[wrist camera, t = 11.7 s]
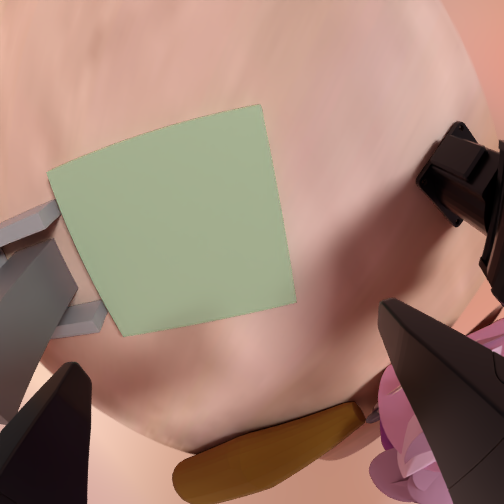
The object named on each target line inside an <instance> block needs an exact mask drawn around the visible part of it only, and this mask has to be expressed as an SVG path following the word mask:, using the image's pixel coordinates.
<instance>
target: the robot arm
mask: <svg viewBox="0 0 504 504" xmlns="http://www.w3.org/2000/svg"><path fill="white" fill-rule="evenodd" d="M459 127H461V128H460V129H459ZM499 149H500V153H499V152H496V151H494V150H491V149H489V148H486V147H485V146H483V145H480V144H478V143H477V141H476V140H475V138H474V137H473V135H472V134H471V132H470V131H469V129H468V128H467V127H466V125H465V124H464V123H463V122H460V121H457V122H455V124H454V125H453V127H452V128H451V130H450V131H449V133H448V134H447V135H446V137H445V138H444V140H443V141H442V143H441V144H440V146H439V147H438V149H437V150H436V151H435V153H434V154H433V156H432V157H431V159H430V160H429V162H428V163H427V165H426V166H425V167H424V169H423V170H422V172H421V173H420V174H419V176H418V177H417V179H416V184H417V186H418V187H419V188H420V189H421V190H422V191H423V192H424V193H425V194H426V195H427V197H428V198H429V199H430V200H431V201H432V202H433V203H434V204H435V206H436V207H437V208H438V209H439V210H440V211H441V212H442V214H443V215H444V216H445V217H446V218H447V219H448V221H449V222H450V223H451V224H452V225H453V226H454V227H458V226H460V224H461V223H462V222H463V220H465V221H466V222H468V223H469V224H470V225H472V226H473V227H475V228H476V229H477V230H479V231H480V232H482V233H483V234H484V235H486V236H487V238H486V242H485V246H484V250H483V254H482V257H481V258H480V261H479V266H480V268H481V269H482V271H483V273H484V274H485V276H486V278H487V280H488V281H489V283H490V285H491V287H492V289H491V292H492V293H493V295H494V296H495V297H496V298H497V299H498V301H499V302H500V303H501V304H502V306H503V307H504V140H499ZM423 179H424V182H423V184H422V180H423ZM456 220H457V221H456ZM378 329H379V332H380V335H381V337H382V340H383V342H384V345H385V348H386V350H387V353H388V356H389V358H390V361H391V364H392V366H393V369H394V372H395V374H396V376H397V378H398V381H399V383H400V385H401V387H402V389H403V391H404V393H405V395H406V397H407V399H408V401H409V403H410V405H411V407H412V409H413V411H414V413H415V415H416V418H417V420H418V422H419V424H420V426H421V428H422V430H423V433H424V435H425V437H426V439H427V441H428V444H429V446H430V448H431V450H432V453H433V455H434V457H435V460H436V462H437V464H438V467H439V469H440V471H441V474H442V476H443V479H444V481H445V484H446V486H447V488H448V492H449V494H450V497H451V499H452V502H453V504H504V357H503V356H502V355H500V354H498V353H496V352H494V351H493V352H492V350H491V349H489V348H487V347H485V346H483V345H482V344H480V343H478V342H476V341H474V340H473V339H471V338H469V337H467V336H465V335H463V334H462V333H460V332H458V331H456V330H454V329H452V328H451V327H449V326H447V325H445V324H443V323H441V322H439V321H437V320H436V319H434V318H432V317H430V316H428V315H426V314H424V313H422V312H421V311H419V310H417V309H415V308H413V307H411V306H409V305H407V304H405V303H404V302H402V301H400V300H398V299H396V298H389V299H385V300H382V301H380V303H379V310H378ZM91 396H92V383H91V380H90V378H89V376H88V375H87V374H86V373H85V371H84V370H83V369H82V367H81V366H80V365H79V364H78V363H77V362H67V363H65V364H63V365H62V366H61V367H60V368H59V370H58V371H57V372H56V373H55V374H54V375H53V376H52V377H51V378H50V379H49V380H48V381H47V382H46V383H45V384H44V385H43V386H42V387H41V388H40V389H39V391H37V392H36V393H35V395H34V396H33V397H32V398H31V399H30V400H29V401H28V402H27V403H26V404H25V405H24V406H23V408H21V410H20V411H19V412H18V413H17V414H16V415H15V416H14V417H13V418H12V419H11V420H10V422H9V423H8V424H7V425H6V426H5V427H4V428H3V429H2V431H1V433H0V504H87V484H88V459H89V445H90V433H91Z"/></svg>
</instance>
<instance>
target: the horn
mask: <svg viewBox="0 0 504 504" xmlns="http://www.w3.org/2000/svg"><path fill="white" fill-rule="evenodd" d="M365 421H366V419H365V416H364V414H363V412H362V410H361V409H360V407H359V406H358V405H357V404H356V403H355V402H348V403H343V404H341V405H338V406H335V407H333V408H330V409H327V410H324V411H321V412H319V413H316V414H313V415H310V416H307V417H304V418H301V419H297V420H294V421H291V422H288V423H284V424H281V425H278V426H274V427H270V428H267V429H263V430H259V431H255V432H252V433H248V434H245V435H242V436H239V437H236V438H234V439H232V440H230V441H227V442H225V443H223V444H221V445H218V446H216V447H214V448H211V449H209V450H207V451H204V452H202V453H199V454H197V455H194V456H192V457H189V458H187V459H185V460H183V461H182V462H180V463H179V464H178V465H177V466H176V467H175V469H174V472H173V474H172V481H173V486H174V488H175V490H176V492H177V493H178V495H179V496H180V497H181V498H182V499H183V500H184V501H186V502H188V503H190V504H217V503H221V502H225V501H229V500H233V499H236V498H240V497H244V496H247V495H250V494H254V493H257V492H260V491H263V490H267V489H270V488H272V487H274V486H276V485H277V484H279V483H281V482H282V481H284V480H286V479H287V478H289V477H290V476H292V475H294V474H295V473H297V472H298V471H300V470H301V469H303V468H304V467H306V466H307V465H309V464H310V463H312V462H313V461H315V460H316V459H318V458H319V457H321V456H322V455H323V454H325V453H326V452H328V451H329V450H330V449H332V448H333V447H335V446H336V445H337V444H339V443H340V442H341V441H342V440H344V439H345V438H346V437H348V436H349V435H350V434H352V433H353V432H354V431H355V430H357V429H358V428H359V427H360V426H361V425H363V424H364V423H365Z"/></svg>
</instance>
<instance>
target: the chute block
mask: <svg viewBox="0 0 504 504" xmlns="http://www.w3.org/2000/svg"><path fill="white" fill-rule="evenodd" d="M77 289H78V286H77V285H76V283H75V281H74V279H73V277H72V275H71V273H70V271H69V269H68V267H67V265H66V263H65V261H64V259H63V257H62V255H61V253H60V251H59V249H58V246H57V244H56V242H55V240H54V238H52V239H50V240H47V241H44V242H41V243H38V244H36V245H33V246H30V247H27V248H25V249H22V250H19V251H17V252H15V253H14V254H13V255H12V256H11V257H10V258H9V259H8V260H7V261H6V263H5V264H4V265H3V266H2V267H1V268H0V424H4V425H7V424H8V423H9V422H10V420H11V419H12V418H13V417H14V416H15V415H16V414H17V412H18V409H19V407H20V404H21V402H22V399H23V397H24V395H25V392H26V390H27V387H28V385H29V383H30V381H31V378H32V376H33V374H34V372H35V369H36V367H37V365H38V363H39V361H40V359H41V357H42V355H43V353H44V351H45V348H46V346H47V344H48V342H49V340H50V338H51V337H52V335H53V333H54V331H55V329H56V327H57V325H58V323H59V321H60V319H61V318H62V316H63V314H64V312H65V310H66V308H67V307H68V305H69V303H70V301H71V300H72V298H73V296H74V294H75V293H76V291H77Z"/></svg>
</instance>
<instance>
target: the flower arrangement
mask: <svg viewBox="0 0 504 504" xmlns="http://www.w3.org/2000/svg"><path fill="white" fill-rule="evenodd" d="M467 337H469V338H471V339H473V340H474V341H476V342H478V343H480V344H482V345H483V346H485V347H487V348H489V349H491V350H492V352H493V351H494V352H496V353H498V354H500V355H502V356H503V357H504V318H502V319H499V320H497V321H495V322H494V323H493V324H491V325H489V326H487V327H485V328H482V329H480V330H478V331H476V332H474V333H471V334H469V335H467ZM378 420H380V432H381V442H382V445H383V447H384V449H385V450H386V451H384V452H382V453H381V454H379V455H378V456H377V457H375V458H374V459H373V461H372V462H371V464H370V467H369V474H370V476H371V479H372V480H373V482H374V484H375V485H376V487H377V488H378V489H379V490H380V491H381V492H383V493H384V494H385V495H387V496H388V497H390V498H393V499H395V500H398V501H403V502H414V503H419V504H453V502H452V499H451V497H450V494H449V492H448V488H447V486H446V484H445V481H444V479H443V476H442V474H441V471H440V469H439V467H438V464H437V462H436V460H435V457H434V455H433V453H432V450H431V448H430V446H429V444H428V441H427V439H426V437H425V435H424V433H423V430H422V428H421V426H420V424H419V422H418V420H417V418H416V415H415V413H414V411H413V409H412V407H411V405H410V403H409V401H408V399H407V397H406V395H405V393H404V391H403V389H402V387H401V385H400V383H399V381H398V378H397V376H396V374H395V372H394V369H393V366H392V364H391V365H389V366H388V367H387V368H386V370H385V371H384V373H383V375H382V378H381V381H380V386H379V392H378V403H377V404H376V405H375V406H374V408H373V412H372V413H371V414H370V415H369V416H368V417H367V419H366V423H373V422H376V421H378Z"/></svg>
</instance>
